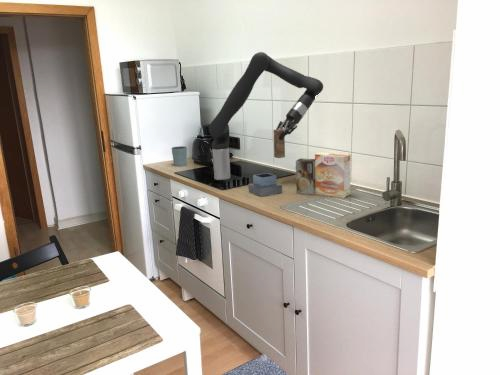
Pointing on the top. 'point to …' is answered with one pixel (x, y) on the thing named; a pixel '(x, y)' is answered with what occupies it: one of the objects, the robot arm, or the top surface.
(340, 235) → the top surface
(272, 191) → the cup bracket
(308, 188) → the coffee box
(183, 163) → the grey-blue cup
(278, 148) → the walnut rail
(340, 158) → the coffeecake box
